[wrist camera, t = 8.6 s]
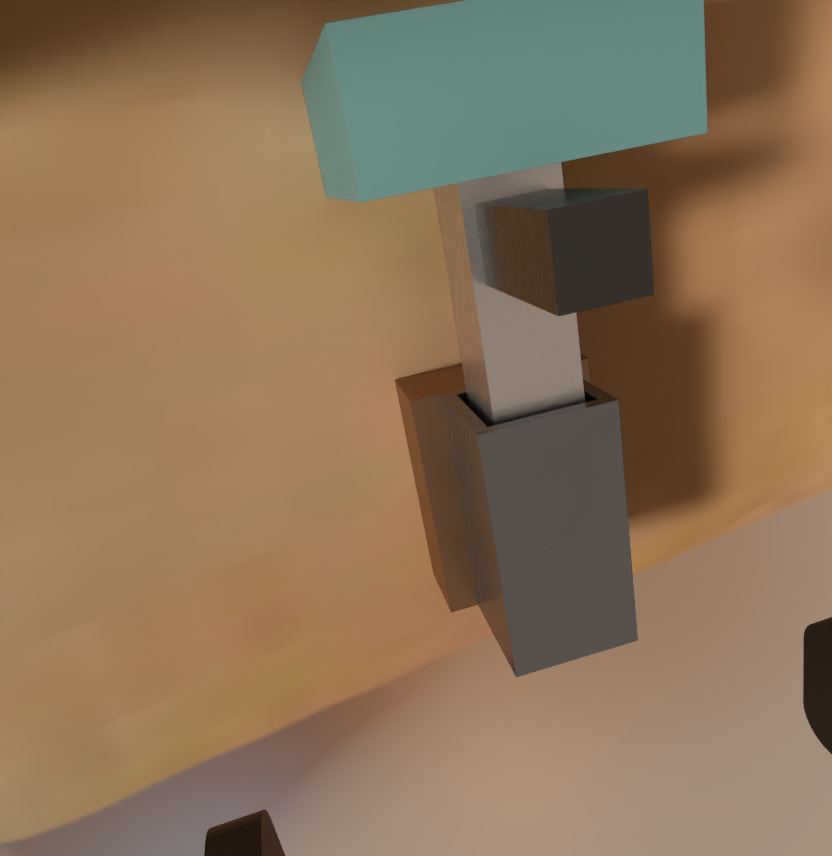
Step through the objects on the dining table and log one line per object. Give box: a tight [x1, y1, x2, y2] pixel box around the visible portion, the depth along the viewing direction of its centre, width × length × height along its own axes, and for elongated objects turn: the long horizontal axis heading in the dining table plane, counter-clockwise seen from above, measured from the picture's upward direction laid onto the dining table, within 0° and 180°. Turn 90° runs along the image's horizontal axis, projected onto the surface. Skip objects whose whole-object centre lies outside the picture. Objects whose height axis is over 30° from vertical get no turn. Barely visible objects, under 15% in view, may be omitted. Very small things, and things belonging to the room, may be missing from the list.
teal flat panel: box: [302, 0, 708, 202], centre depth 28 cm, size 5×12×12 cm, turn 100°
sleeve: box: [395, 354, 638, 677], centre depth 35 cm, size 12×9×10 cm
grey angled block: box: [433, 162, 654, 427], centre depth 26 cm, size 16×4×11 cm, turn 11°
